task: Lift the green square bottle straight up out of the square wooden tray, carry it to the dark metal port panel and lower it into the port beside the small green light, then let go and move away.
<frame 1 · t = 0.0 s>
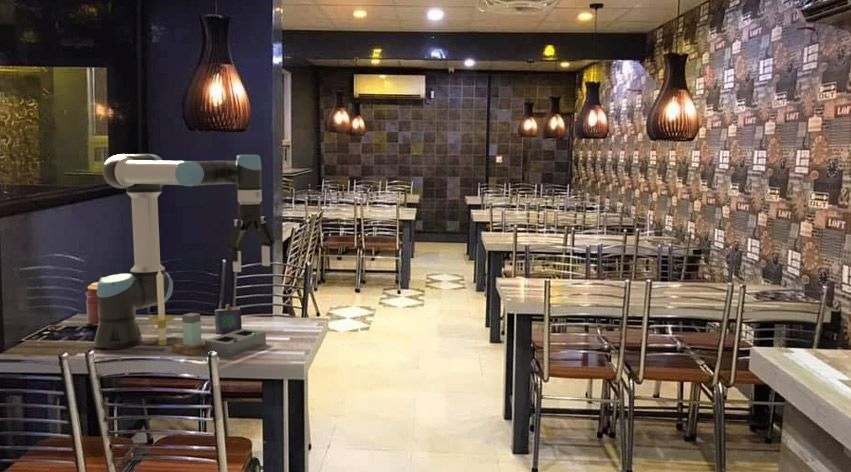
hand: (252, 268, 239), 28 cm above the table, tool pointing down, fingers open, 13 cm apart
canister: (105, 322, 286), on the table
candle: (162, 346, 251), on the table
flask: (228, 333, 269), on the table
port panel: (236, 350, 245), on the table
green square bottle: (192, 350, 243), point 1 cm above the table, touching square wooden tray
square wooden tray: (192, 352, 243), on the table
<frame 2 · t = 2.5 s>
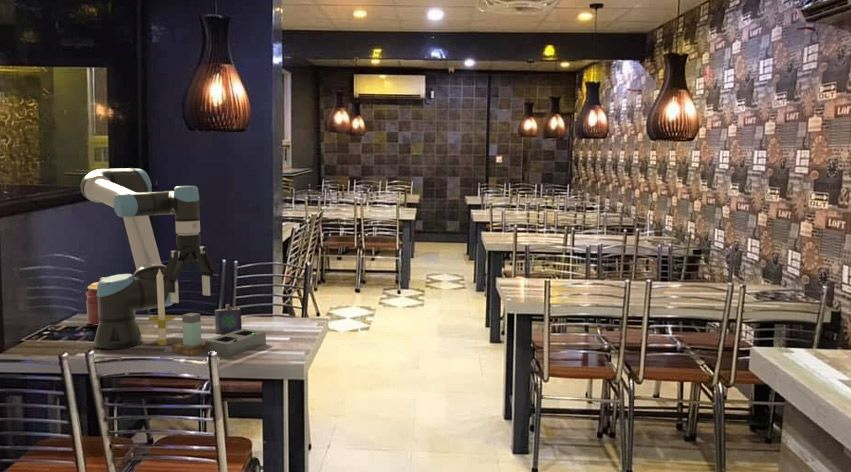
hand: (191, 298, 241), 18 cm above the table, tool pointing down, fingers open, 13 cm apart
nothing on the table moved.
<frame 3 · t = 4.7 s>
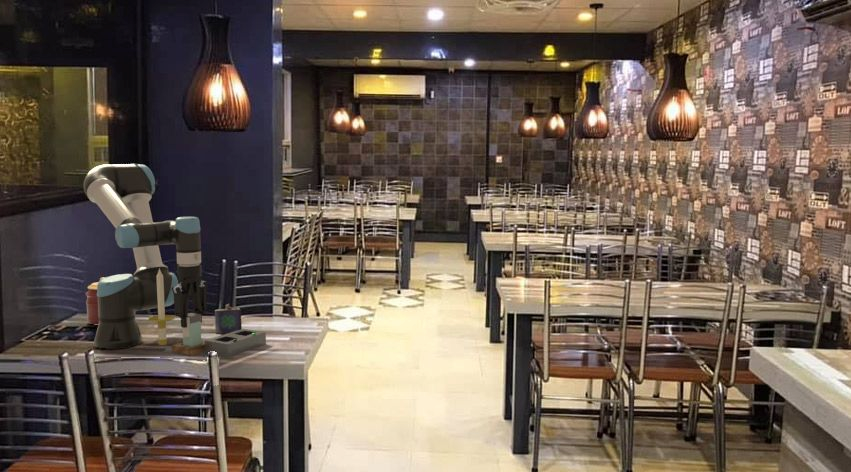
hand: (192, 335, 242), 6 cm above the table, tool pointing down, fingers closed on green square bottle, 4 cm apart
green square bottle: (192, 350, 243), point 1 cm above the table, touching gripper, square wooden tray
everything else where it was.
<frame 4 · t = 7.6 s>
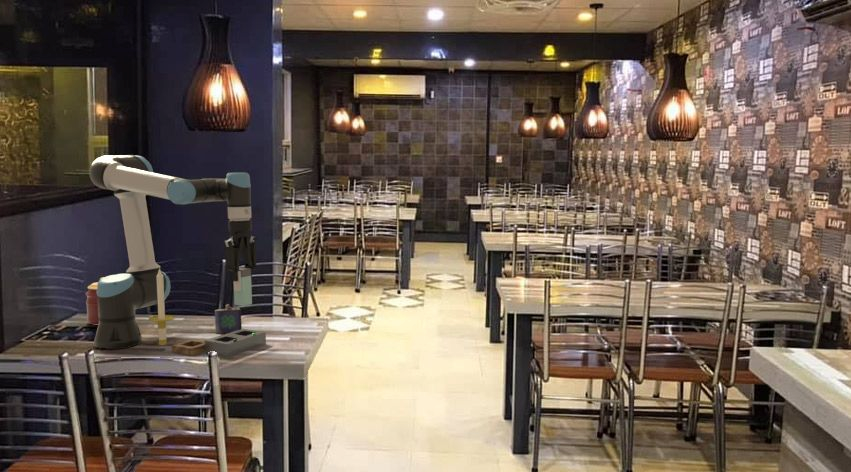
hand: (242, 289, 246), 20 cm above the table, tool pointing down, fingers closed on green square bottle, 4 cm apart
green square bottle: (243, 304, 247), point 15 cm above the table, touching gripper
everything else where it was.
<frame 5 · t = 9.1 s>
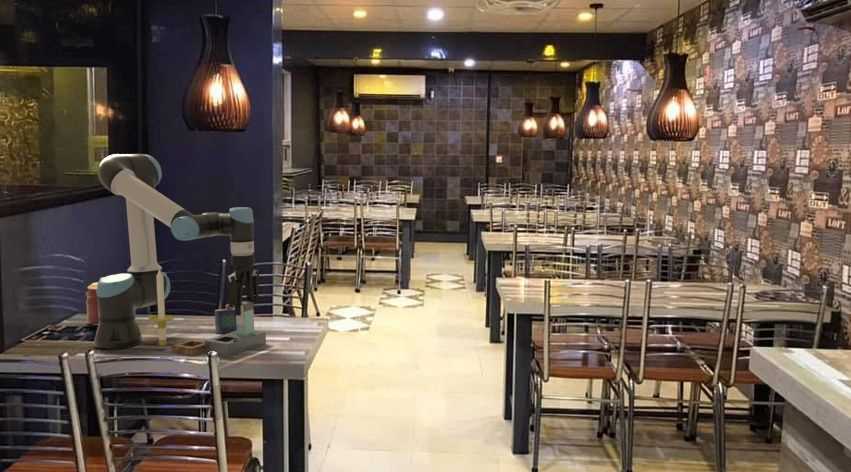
hand: (245, 323, 248), 8 cm above the table, tool pointing down, fingers closed on green square bottle, 4 cm apart
green square bottle: (245, 337, 249), point 3 cm above the table, touching gripper
everything else where it was.
when the fingers open (7 cm above the table, at t = 10.3 s): green square bottle stays where it is, resting on port panel.
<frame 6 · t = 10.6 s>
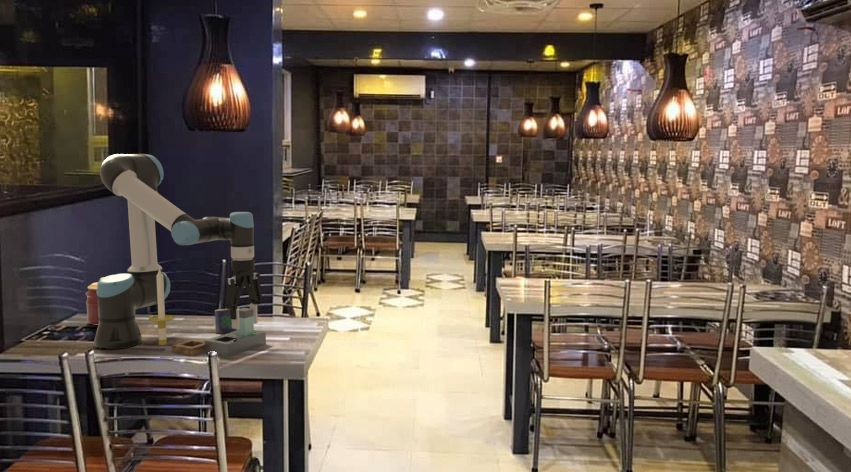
hand: (244, 325, 248), 8 cm above the table, tool pointing down, fingers open, 8 cm apart
green square bottle: (245, 344, 249), point 1 cm above the table, touching port panel
everything else where it was.
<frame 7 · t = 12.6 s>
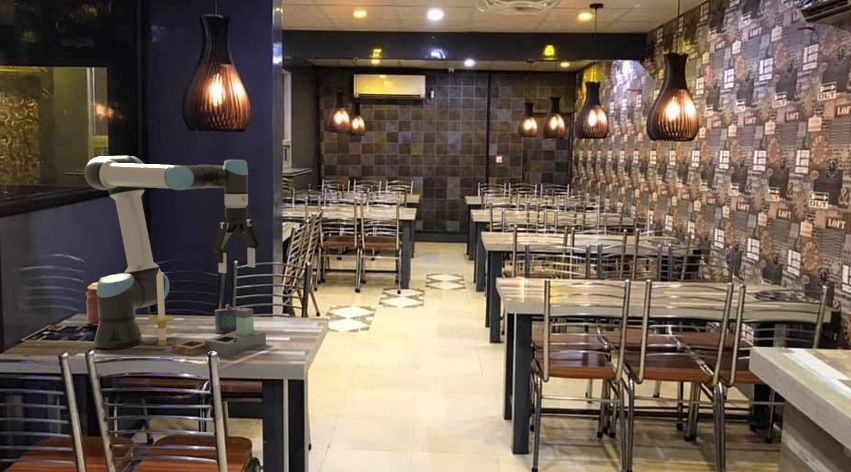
hand: (237, 269, 248), 26 cm above the table, tool pointing down, fingers open, 13 cm apart
nothing on the table moved.
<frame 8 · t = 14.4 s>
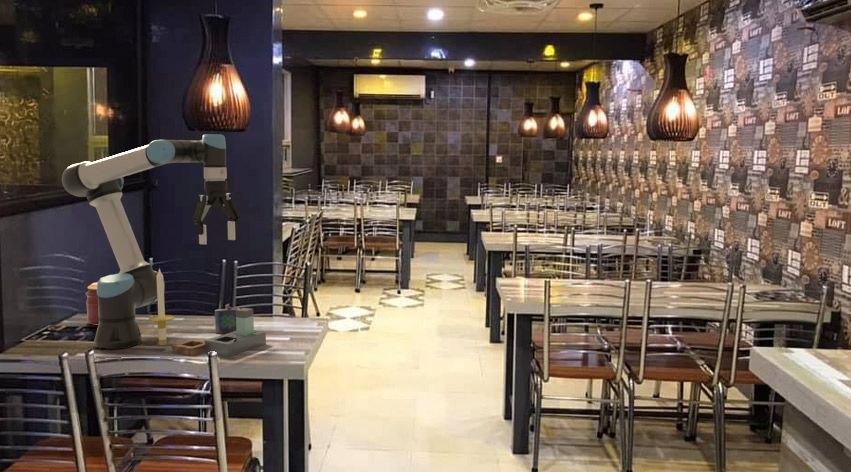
hand: (217, 242, 254), 35 cm above the table, tool pointing down, fingers open, 13 cm apart
nothing on the table moved.
at the end: green square bottle 0.0 cm from the target spot on the port panel, point 1.1 cm above the port panel's base; green square bottle tilted 0°; the gripper is holding nothing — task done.
